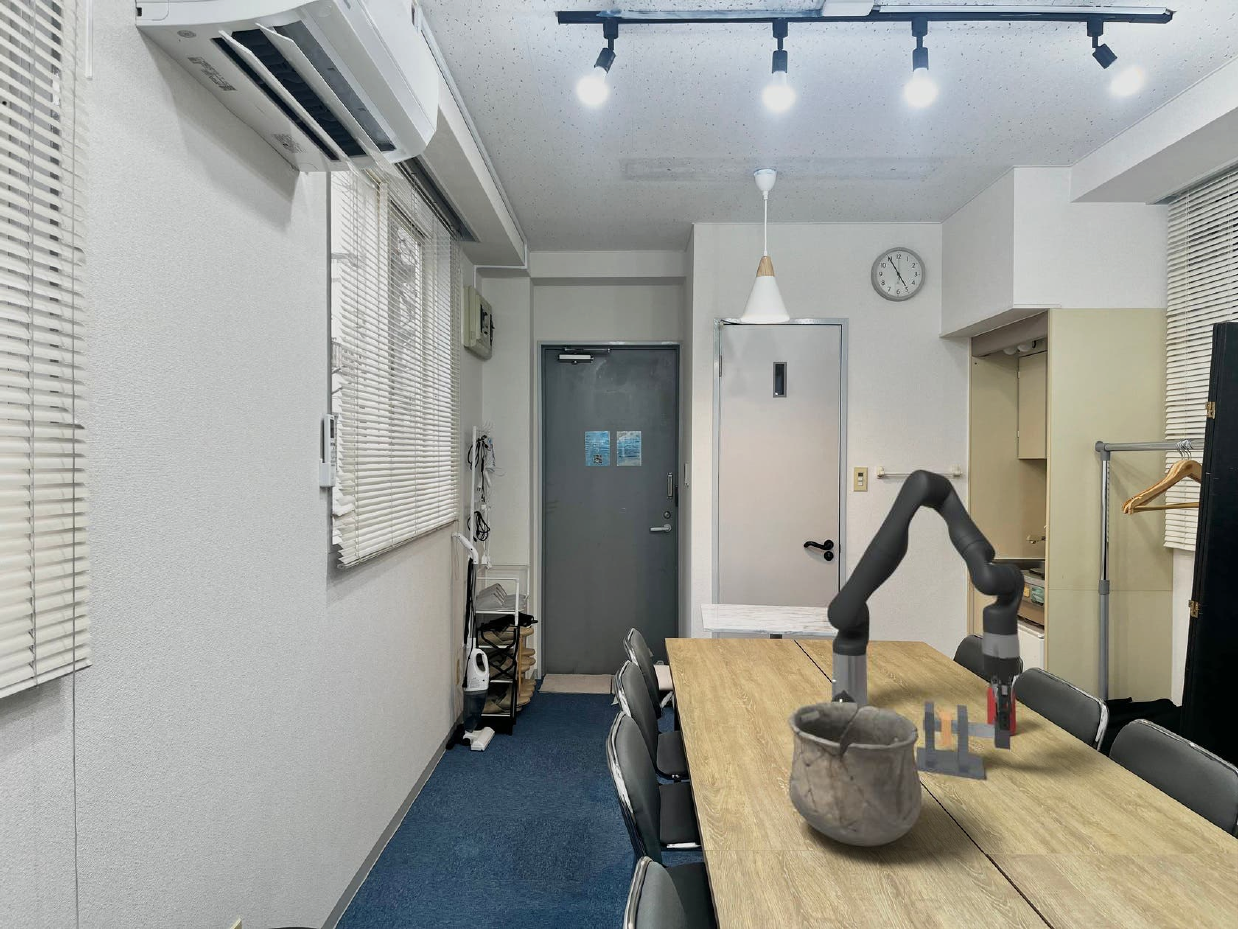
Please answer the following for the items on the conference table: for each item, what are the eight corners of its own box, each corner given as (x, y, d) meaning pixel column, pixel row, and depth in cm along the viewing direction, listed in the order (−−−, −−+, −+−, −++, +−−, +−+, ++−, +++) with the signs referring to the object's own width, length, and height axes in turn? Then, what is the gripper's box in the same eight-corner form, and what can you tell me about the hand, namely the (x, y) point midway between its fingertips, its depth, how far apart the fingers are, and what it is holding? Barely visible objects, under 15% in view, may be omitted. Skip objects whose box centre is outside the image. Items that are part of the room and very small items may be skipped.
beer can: (1020, 737, 179) (1019, 690, 180) (992, 735, 181) (991, 689, 181) (1011, 728, 186) (1010, 682, 186) (984, 726, 187) (983, 681, 187)
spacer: (941, 745, 161) (941, 719, 161) (941, 736, 167) (941, 711, 167) (951, 746, 160) (950, 720, 160) (950, 737, 166) (950, 712, 166)
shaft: (922, 738, 164) (922, 712, 164) (923, 733, 167) (922, 708, 167) (1010, 749, 157) (1009, 723, 157) (1008, 744, 160) (1008, 718, 160)
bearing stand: (915, 770, 161) (915, 713, 161) (917, 750, 172) (916, 697, 172) (984, 780, 155) (983, 721, 155) (981, 759, 166) (980, 705, 166)
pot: (846, 882, 117) (844, 754, 117) (763, 819, 139) (761, 711, 139) (953, 849, 127) (951, 731, 127) (861, 795, 149) (859, 694, 149)
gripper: (980, 643, 167) (982, 711, 167) (984, 658, 154) (986, 732, 154) (1016, 646, 164) (1018, 715, 164) (1023, 661, 151) (1025, 736, 151)
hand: (1002, 723), depth 159 cm, fingers open, 8 cm apart
